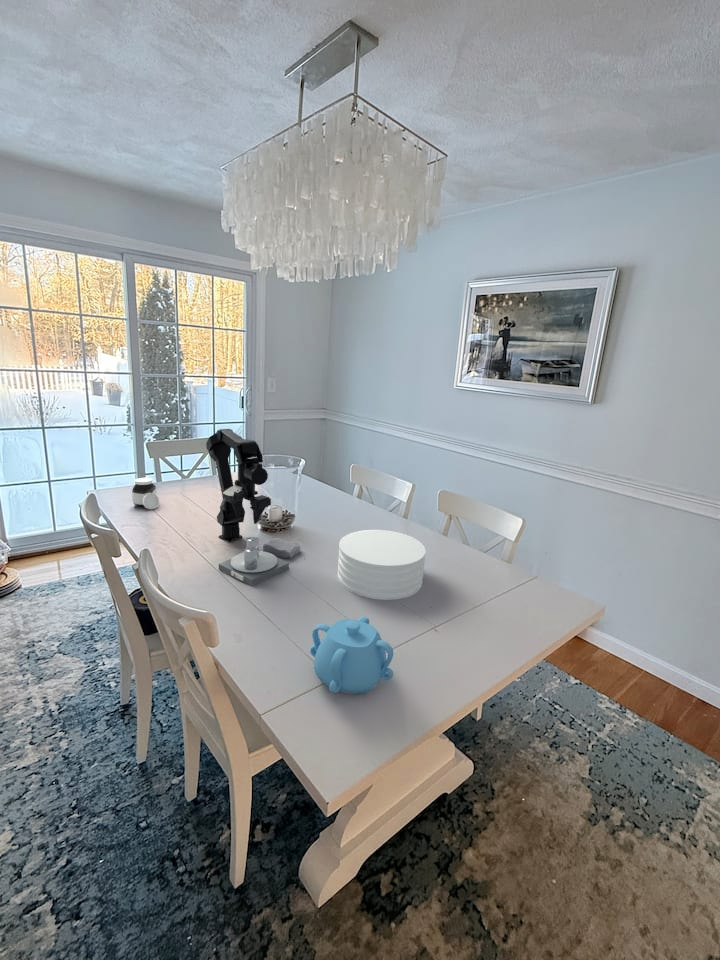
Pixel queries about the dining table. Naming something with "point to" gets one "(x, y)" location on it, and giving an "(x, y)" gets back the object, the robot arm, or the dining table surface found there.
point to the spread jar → (145, 493)
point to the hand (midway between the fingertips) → (246, 520)
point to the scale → (265, 569)
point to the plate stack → (381, 564)
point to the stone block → (281, 548)
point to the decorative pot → (351, 656)
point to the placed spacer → (250, 558)
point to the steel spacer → (253, 543)
